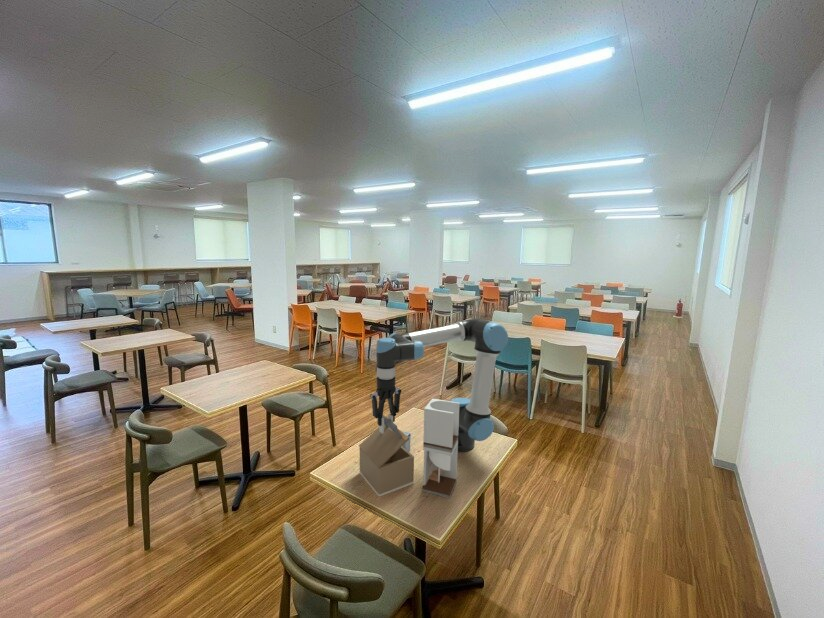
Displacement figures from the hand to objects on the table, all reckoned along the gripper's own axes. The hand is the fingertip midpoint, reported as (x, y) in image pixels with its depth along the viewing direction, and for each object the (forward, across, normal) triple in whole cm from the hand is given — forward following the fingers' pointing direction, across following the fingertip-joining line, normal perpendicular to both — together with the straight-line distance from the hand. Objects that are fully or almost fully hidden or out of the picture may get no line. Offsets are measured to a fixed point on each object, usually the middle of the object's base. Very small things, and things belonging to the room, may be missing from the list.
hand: (386, 430), depth 148 cm
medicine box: (+22, -17, -16) cm, 32 cm away
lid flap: (+5, +1, 0) cm, 5 cm away
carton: (+21, 0, 0) cm, 21 cm away
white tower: (+22, -16, +16) cm, 31 cm away
